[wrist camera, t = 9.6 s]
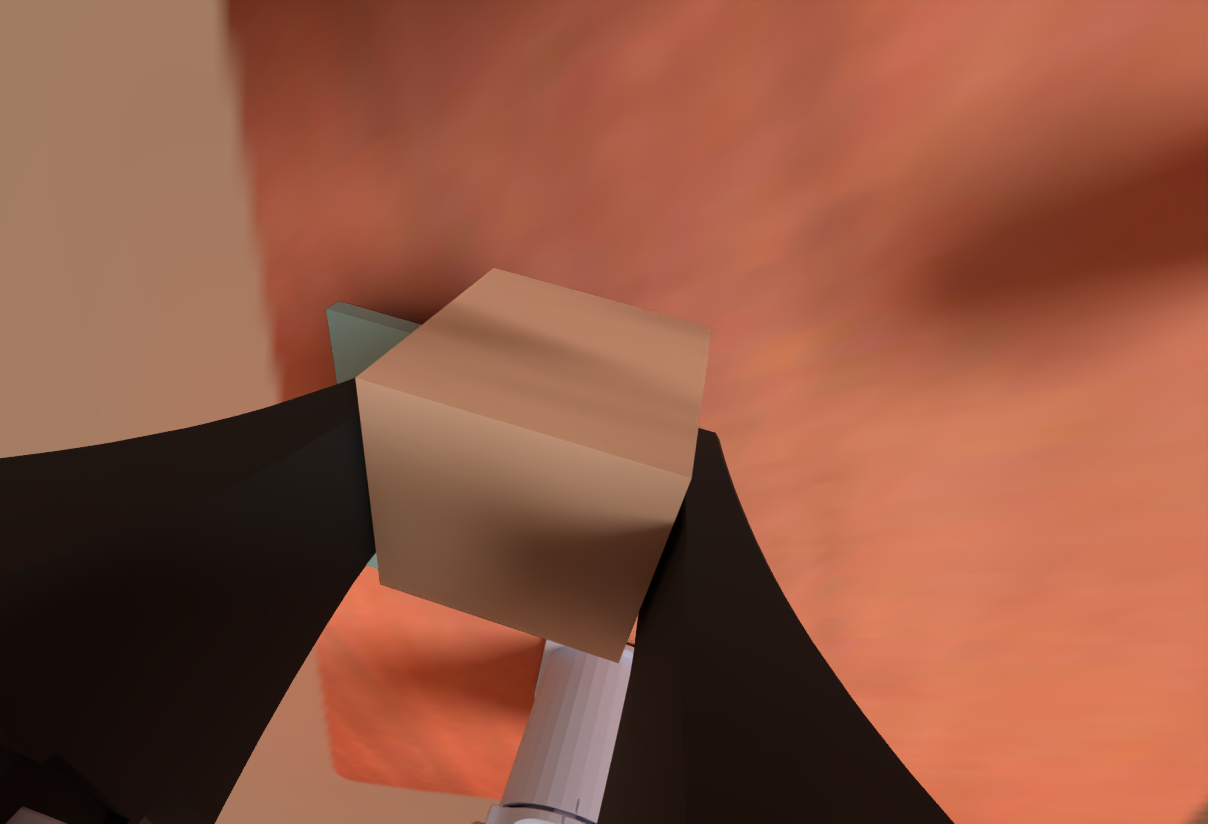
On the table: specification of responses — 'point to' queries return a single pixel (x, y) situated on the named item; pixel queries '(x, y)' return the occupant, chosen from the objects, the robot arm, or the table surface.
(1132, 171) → the table surface
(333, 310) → the teal board
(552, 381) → the brown block
